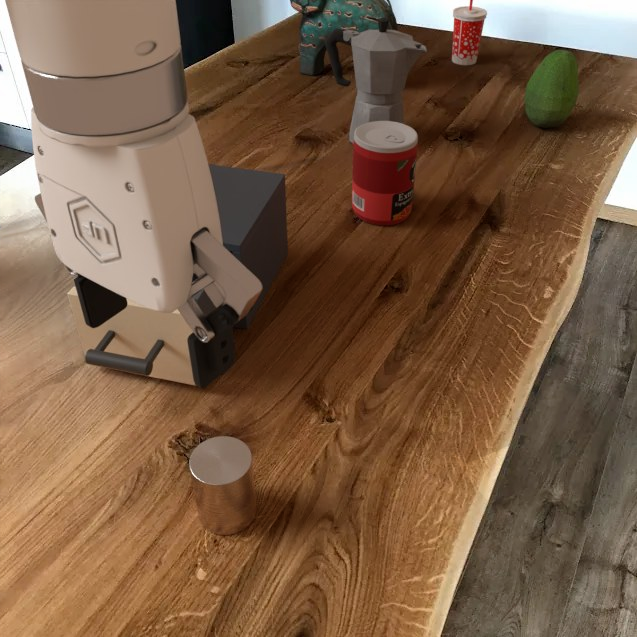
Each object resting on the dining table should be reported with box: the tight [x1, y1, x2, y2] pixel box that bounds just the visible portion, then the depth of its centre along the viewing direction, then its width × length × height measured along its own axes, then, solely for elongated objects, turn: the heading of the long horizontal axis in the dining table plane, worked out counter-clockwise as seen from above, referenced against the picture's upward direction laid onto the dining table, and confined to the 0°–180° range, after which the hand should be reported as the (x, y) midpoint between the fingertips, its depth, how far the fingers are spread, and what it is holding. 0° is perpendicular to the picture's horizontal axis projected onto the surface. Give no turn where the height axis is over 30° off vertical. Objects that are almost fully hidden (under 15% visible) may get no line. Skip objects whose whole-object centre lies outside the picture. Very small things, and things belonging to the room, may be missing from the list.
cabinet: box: [208, 163, 289, 330], centre depth 81 cm, size 15×14×11 cm
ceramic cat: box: [289, 0, 399, 77], centre depth 125 cm, size 20×6×20 cm, turn 61°
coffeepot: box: [325, 18, 428, 145], centre depth 108 cm, size 15×9×18 cm, turn 65°
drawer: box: [66, 251, 233, 387], centre depth 72 cm, size 18×13×9 cm
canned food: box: [351, 121, 419, 226], centre depth 93 cm, size 8×8×11 cm
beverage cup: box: [451, 0, 488, 66], centre depth 133 cm, size 6×6×14 cm
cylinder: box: [188, 435, 258, 536], centre depth 58 cm, size 5×5×6 cm
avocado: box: [523, 49, 580, 129], centre depth 112 cm, size 8×8×12 cm
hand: (159, 344), depth 47 cm, fingers open, 9 cm apart
